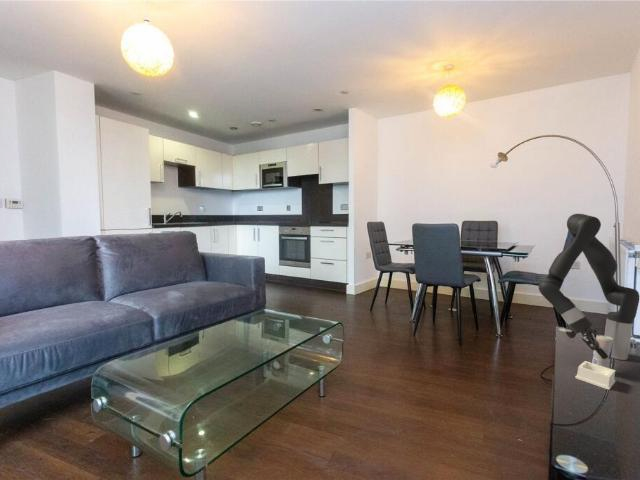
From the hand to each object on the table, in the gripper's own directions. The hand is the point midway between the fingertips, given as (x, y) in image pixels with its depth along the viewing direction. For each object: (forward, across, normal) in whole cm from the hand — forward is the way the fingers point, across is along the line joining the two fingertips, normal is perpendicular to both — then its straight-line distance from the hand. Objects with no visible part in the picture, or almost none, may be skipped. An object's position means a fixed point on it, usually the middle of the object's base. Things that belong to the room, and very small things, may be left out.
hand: (607, 356), depth 139 cm
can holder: (+4, -12, +6) cm, 14 cm away
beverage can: (+4, 0, +6) cm, 8 cm away
